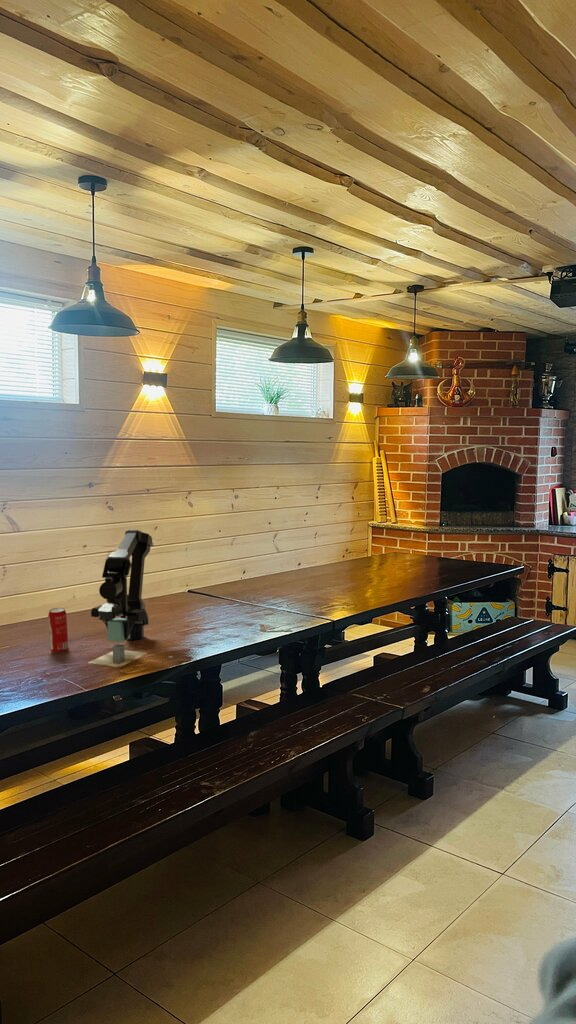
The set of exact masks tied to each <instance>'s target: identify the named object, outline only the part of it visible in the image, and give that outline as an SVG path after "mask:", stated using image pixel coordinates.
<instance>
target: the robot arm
mask: <svg viewBox="0 0 576 1024" xmlns="http://www.w3.org/2000/svg"><path fill="white" fill-rule="evenodd" d="M152 544H153V537H152V536H151V535H150V534H149V533H146V532H142V530H139V529H127V530H125V533H124V537H123V539H122V540H121V542H120V544H119V546H118V547H117V549H116V550H115V551H112V552H111V553H110V554H109V555H108V556H107V558H106V559H105V562H104V565H103V571H102V575H101V576H102V577H101V578H102V579H103V578H104V582H103V583H101V585H100V586H99V589H98V592H99V594H100V597H102V598H103V599H104V600H106V602H105V603H104V604H102V605H98V606H95V607H92V609H91V610H90V617H92V618H98V620H99V621H102V622H103V623H104V625H105V626H106V628H107V629H106V630H108V621H109V620H112V619H114V618H117V617H120V618H125V619H126V620H124V621H122V623H123V624H124V638H125V641H126V642H135V641H140V640H143V639H144V637H145V629H144V628H145V626H148V625H149V619H150V618H149V614H148V612H147V610H146V604H145V602H144V600H143V599H142V595H143V594H142V593H143V583H144V570H145V560H146V557H147V556H148V554H150V551H151V546H152ZM130 558H131V560H130ZM128 576H129V584H128ZM129 634H130V638H129V639H128V636H129ZM126 639H127V640H126Z"/></svg>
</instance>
